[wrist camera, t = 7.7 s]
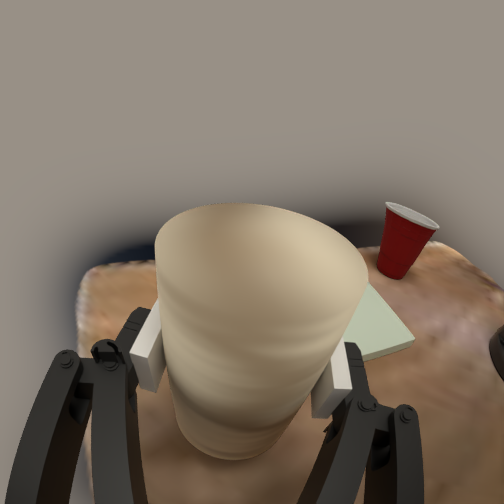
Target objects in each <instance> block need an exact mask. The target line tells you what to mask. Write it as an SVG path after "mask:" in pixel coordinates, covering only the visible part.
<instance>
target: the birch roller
mask: <svg viewBox="0 0 504 504" xmlns="http://www.w3.org/2000/svg"><path fill="white" fill-rule="evenodd" d="M155 258H156V275H157V289H158V301H159V311H160V321H161V329H162V338H163V345H164V352H165V359H166V366H167V372H168V378H169V384H170V390H171V395H172V400H173V405H174V410H175V415H176V420H177V423H178V426H179V428H180V430H181V432H182V434H183V435H184V437H185V438H186V439H187V440H188V441H189V442H190V443H191V444H192V445H193V446H194V447H196V448H197V449H198V450H200V451H202V452H203V453H205V454H208V455H210V456H212V457H216V458H220V459H226V460H242V459H248V458H252V457H255V456H257V455H260V454H261V453H263V452H265V451H267V450H268V449H269V448H271V447H272V446H273V445H274V444H275V443H276V442H277V440H278V439H279V438H280V436H281V435H282V433H283V432H284V431H285V429H286V428H287V426H288V425H289V423H290V422H291V421H292V419H293V418H294V416H295V415H296V413H297V412H298V410H299V409H300V407H301V406H302V404H303V403H304V401H305V400H306V398H307V396H308V395H309V393H310V392H311V390H312V389H313V387H314V385H315V384H316V382H317V380H318V379H319V377H320V375H321V374H322V372H323V370H324V369H325V367H326V365H327V363H328V362H329V360H330V358H331V356H332V355H333V353H334V351H335V349H336V347H337V346H338V344H339V342H340V340H341V338H342V336H343V334H344V332H345V330H346V328H347V327H348V325H349V323H350V321H351V319H352V317H353V315H354V313H355V310H356V308H357V306H358V304H359V302H360V300H361V298H362V296H363V294H364V291H365V289H366V287H367V283H368V270H367V266H366V263H365V261H364V259H363V257H362V256H361V254H360V253H359V251H358V250H357V249H356V248H355V247H354V246H353V245H352V244H351V243H350V242H349V241H348V240H347V239H346V238H345V237H343V236H342V235H341V234H339V233H338V232H336V231H335V230H333V229H332V228H330V227H328V226H326V225H324V224H323V223H320V222H318V221H316V220H314V219H312V218H309V217H307V216H304V215H301V214H298V213H295V212H292V211H288V210H285V209H281V208H276V207H272V206H265V205H259V204H248V203H221V204H211V205H206V206H201V207H197V208H193V209H190V210H188V211H185V212H183V213H180V214H178V215H176V216H175V217H173V218H172V219H170V220H169V221H168V222H167V223H166V224H164V226H163V227H162V228H161V229H160V231H159V233H158V235H157V238H156V242H155Z"/></svg>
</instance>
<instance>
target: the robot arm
mask: <svg viewBox="0 0 504 504" xmlns="http://www.w3.org/2000/svg"><path fill="white" fill-rule="evenodd" d="M490 352H491V356H492V359H493V362H494V364H495V366H496V368H497V370H498V372H499V373H500V375H501V376H502V378H503V379H504V325H503V326H502V327H500V328H499V329H498V330H497V332H496V333H495V335H494V336H493V337H492V339H491V341H490ZM91 353H92V356H93V358H80V357H79V356H78V354H77V353H76V352H74V351H73V350H63V351H61V352H59V353H58V354H57V355H56V356H55V358H54V360H53V362H52V364H51V366H50V368H49V370H48V372H47V374H46V377H45V379H44V381H43V383H42V385H41V388H40V390H39V392H38V395H37V397H36V399H35V402H34V404H33V407H32V409H31V412H30V414H29V417H28V420H27V422H26V426H25V428H24V431H23V434H22V437H21V440H20V443H19V446H18V449H17V453H16V456H15V459H14V463H13V467H12V471H11V475H10V479H9V484H8V488H7V493H6V499H5V504H69V499H70V493H71V488H72V483H73V478H74V473H75V469H76V464H77V460H78V456H79V452H80V448H81V445H82V441H83V437H84V434H85V430H86V427H87V423H88V420H89V417H90V413H91V410H92V422H91V456H92V477H93V489H94V499H95V504H148V501H147V495H146V489H145V483H144V476H143V468H142V460H141V451H140V441H139V428H138V412H137V393H136V387H137V385H138V383H139V385H140V388H142V389H145V390H148V391H152V392H155V393H156V392H157V389H158V386H159V383H160V381H161V378H162V375H163V372H164V370H165V367H166V359H165V352H164V345H163V338H162V329H161V321H160V311H159V301H158V299H157V301H156V303H155V304H154V306H153V308H152V310H150V309H146V308H142V307H138V308H137V309H136V310H134V311H133V312H132V313H131V314H130V316H129V318H128V319H127V322H126V323H125V324H124V326H123V328H122V330H121V331H120V333H119V335H118V336H117V338H116V340H115V341H114V340H110V339H104V340H100V341H98V342H96V343H95V344H94V345H93V346H92V349H91ZM311 407H312V418H323V419H328V418H329V416H330V415H331V414H332V417H333V421H332V422H331V423H330V424H329V425H328V426H327V427H326V428H325V430H324V431H323V432H326V431H327V433H326V436H325V439H324V441H323V444H322V447H321V449H320V452H319V454H318V457H317V459H316V462H315V464H314V467H313V469H312V471H311V474H310V476H309V478H308V480H307V483H306V485H305V487H304V489H303V491H302V493H301V495H300V498H299V500H298V502H297V504H354V501H355V498H356V495H357V492H358V489H359V486H360V483H361V480H362V477H363V474H364V470H365V467H366V474H365V492H364V504H424V475H423V458H422V447H421V437H420V429H419V421H418V415H417V412H416V411H415V409H414V408H413V407H411V406H410V405H406V404H403V405H400V406H398V407H397V408H396V409H394V408H390V407H387V406H383V405H381V404H379V403H378V402H377V400H376V399H375V397H374V396H372V395H371V394H370V391H369V386H368V381H367V376H366V371H365V368H364V362H363V358H362V354H361V350H360V349H359V347H358V346H357V344H356V343H354V342H344V340H343V336H342V338H341V340H340V342H339V344H338V346H337V347H336V349H335V351H334V353H333V355H332V356H331V358H330V360H329V362H328V363H327V365H326V367H325V369H324V370H323V372H322V374H321V375H320V377H319V379H318V380H317V382H316V384H315V385H314V387H313V389H312V390H311Z"/></svg>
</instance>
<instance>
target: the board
mask: <svg viewBox="0 0 504 504" xmlns="http://www.w3.org/2000/svg"><path fill="white" fill-rule="evenodd" d="M343 340H344V342H354V343H356V344H357V346H358V347H359V349H360V350H361V354H362V358H363V362H365V361H368V360H371V359H375V358H378V357H381V356H384V355H387V354H390V353H393V352H396V351H399V350H402V349H405V348H408V347H410V346H411V345H412V343H413V342H414V340H415V337H414V336H413V335H412V334H411V332H410V331H409V330H408V329H407V327H406V326H405V325H404V324H403V322H402V321H401V320H400V319H399V318H398V316H397V315H396V314H395V313H394V311H393V310H392V309H391V308H390V307H389V306H388V304H387V303H386V302H385V301H384V300H383V298H382V297H381V296H380V295H379V294H378V293H377V291H376V290H375V289H374V288H373V287H372V286H371V285H370V283H369V282H368V283H367V287H366V289H365V291H364V294H363V296H362V298H361V300H360V302H359V304H358V306H357V308H356V310H355V313H354V315H353V317H352V319H351V321H350V323H349V325H348V327H347V328H346V330H345V332H344V334H343Z"/></svg>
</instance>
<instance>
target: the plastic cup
mask: <svg viewBox="0 0 504 504" xmlns="http://www.w3.org/2000/svg"><path fill="white" fill-rule="evenodd" d="M385 205H386V218H385V226H384V231H383V236H382V241H381V246H380V252H379V257H378V261H377V268H378V269H379V271H380V272H382V273H383V274H384V275H386V276H388V277H390V278H393V279H402V278H403V276H405V274H406V273H407V271H408V270H409V268H410V267H411V265H413V263H414V262H415V260H416V259H417V257H418V256H419V254H420V253H421V251H422V249H423V248H424V246H425V245H426V243H427V242H428V241H429V239H430V237H432V235H433V233H434V232H435V231H436V230H438V229H439V225H438V224H437V223H435V222H434V221H432V220H431V219H429V218H427V217H426V216H424V215H422V214H420V213H418V212H416V211H414V210H411V209H409V208H407V207H404V206H401V205H398V204H395V203H391V202H386V203H385Z"/></svg>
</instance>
